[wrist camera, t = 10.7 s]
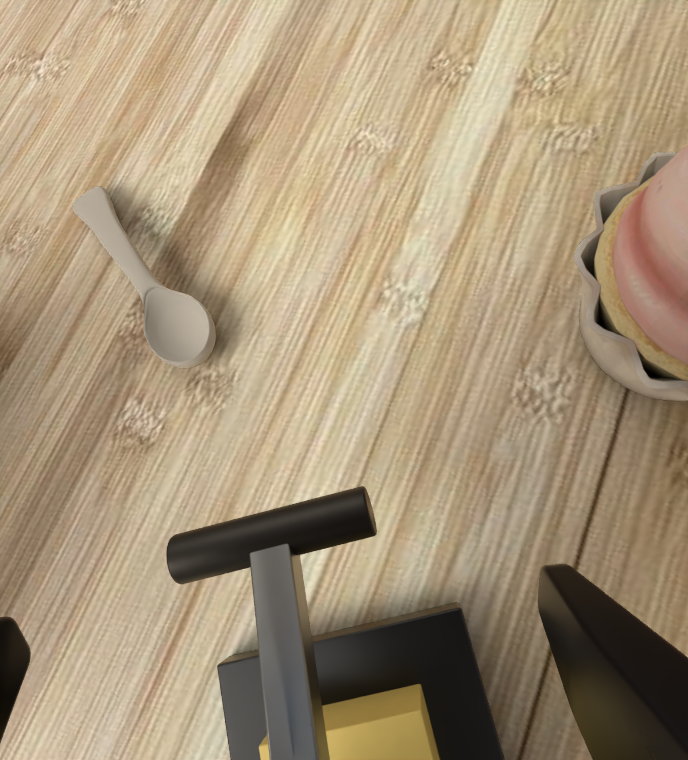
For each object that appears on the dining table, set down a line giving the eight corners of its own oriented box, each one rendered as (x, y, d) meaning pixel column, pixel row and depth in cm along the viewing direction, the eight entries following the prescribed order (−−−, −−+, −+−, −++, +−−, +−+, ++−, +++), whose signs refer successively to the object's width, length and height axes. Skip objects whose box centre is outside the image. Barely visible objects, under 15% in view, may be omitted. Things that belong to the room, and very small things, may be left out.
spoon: (185, 389, 22) (161, 374, 20) (79, 227, 26) (51, 202, 24) (238, 348, 22) (219, 330, 20) (124, 193, 26) (100, 167, 24)
